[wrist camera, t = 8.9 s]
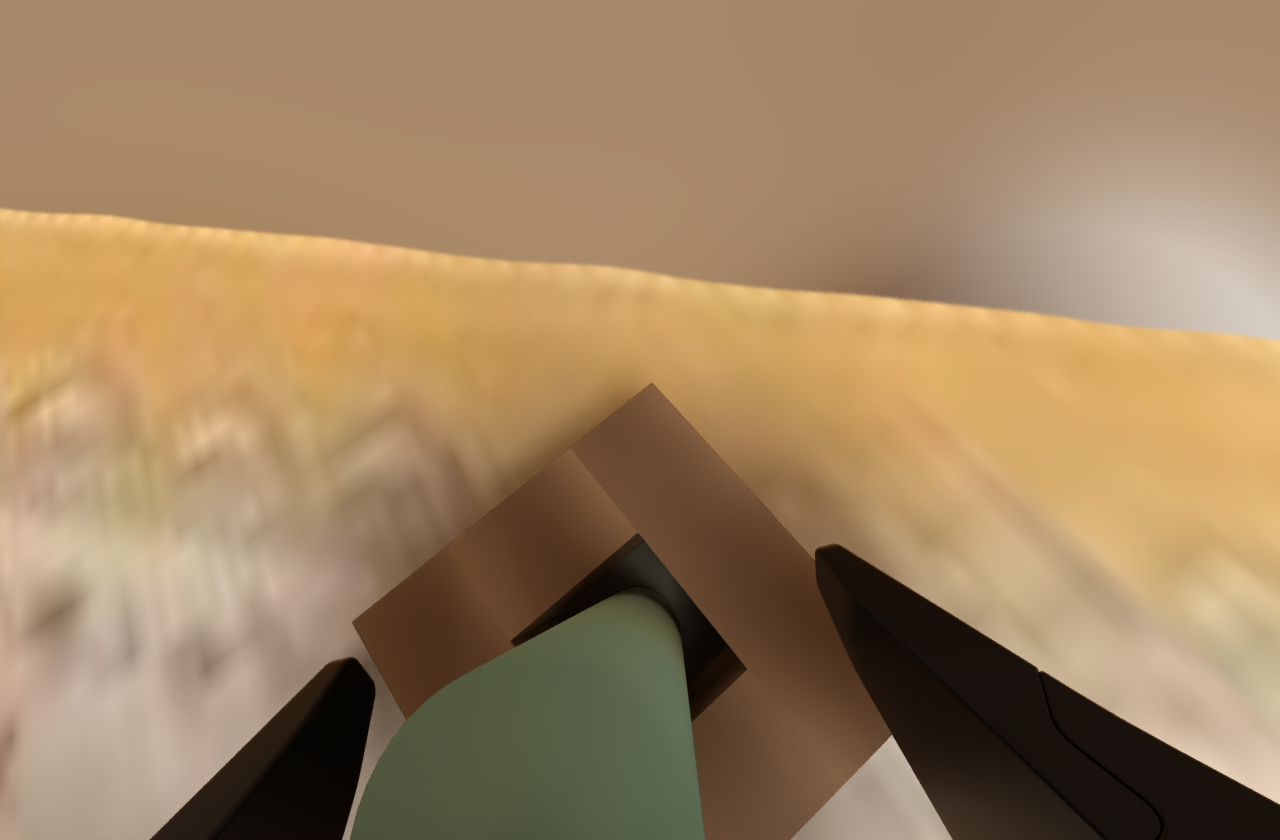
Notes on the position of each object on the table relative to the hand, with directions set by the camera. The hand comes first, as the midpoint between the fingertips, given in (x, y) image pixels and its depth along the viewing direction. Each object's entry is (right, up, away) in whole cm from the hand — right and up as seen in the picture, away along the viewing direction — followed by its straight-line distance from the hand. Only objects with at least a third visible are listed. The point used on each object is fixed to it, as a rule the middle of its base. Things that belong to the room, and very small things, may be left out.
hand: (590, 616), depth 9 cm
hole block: (+1, -4, +7) cm, 8 cm away
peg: (+1, -4, +7) cm, 8 cm away
